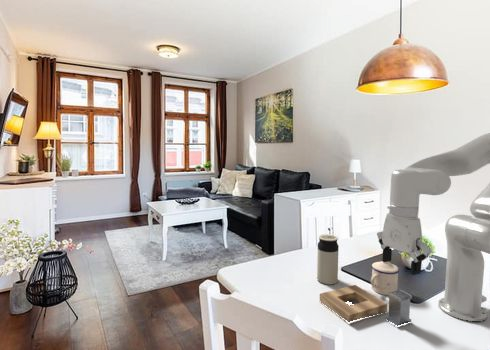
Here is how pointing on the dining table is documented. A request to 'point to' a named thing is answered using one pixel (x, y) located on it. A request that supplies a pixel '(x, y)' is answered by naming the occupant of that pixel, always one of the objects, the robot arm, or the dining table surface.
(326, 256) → the travel mug
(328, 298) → the well block
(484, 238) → the robot arm
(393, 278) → the teacup with lid
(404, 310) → the upright grey block
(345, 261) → the dining table surface
